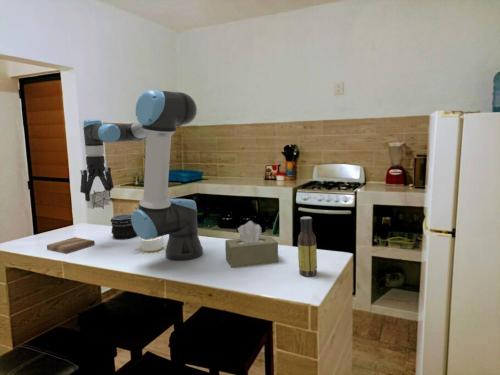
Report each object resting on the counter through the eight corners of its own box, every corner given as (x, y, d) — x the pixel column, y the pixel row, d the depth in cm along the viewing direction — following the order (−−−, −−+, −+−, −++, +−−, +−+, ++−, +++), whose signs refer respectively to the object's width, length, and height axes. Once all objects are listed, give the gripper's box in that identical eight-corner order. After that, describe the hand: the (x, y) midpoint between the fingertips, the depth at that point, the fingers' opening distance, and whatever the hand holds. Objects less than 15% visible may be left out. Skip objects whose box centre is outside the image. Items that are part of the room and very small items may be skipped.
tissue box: (271, 254, 151) (270, 216, 149) (279, 262, 141) (278, 221, 139) (225, 260, 146) (223, 220, 144) (230, 268, 137) (228, 226, 135)
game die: (104, 215, 170) (116, 196, 171) (95, 213, 161) (108, 193, 162) (89, 205, 171) (101, 186, 172) (79, 202, 163) (92, 183, 164)
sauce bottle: (314, 270, 132) (314, 215, 129) (318, 276, 126) (318, 219, 123) (296, 271, 132) (296, 215, 129) (300, 277, 126) (299, 219, 123)
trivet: (94, 245, 171) (94, 240, 171) (66, 253, 159) (66, 248, 159) (75, 241, 178) (75, 236, 178) (47, 249, 166) (46, 244, 166)
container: (133, 239, 179) (132, 219, 177) (107, 240, 179) (105, 219, 178) (142, 232, 191) (141, 213, 190) (117, 233, 192) (116, 214, 190)
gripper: (109, 153, 174) (112, 201, 178) (67, 156, 157) (72, 209, 160) (120, 154, 170) (123, 203, 174) (78, 157, 153) (83, 211, 157)
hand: (98, 206), depth 167 cm, fingers closed on game die, 8 cm apart
